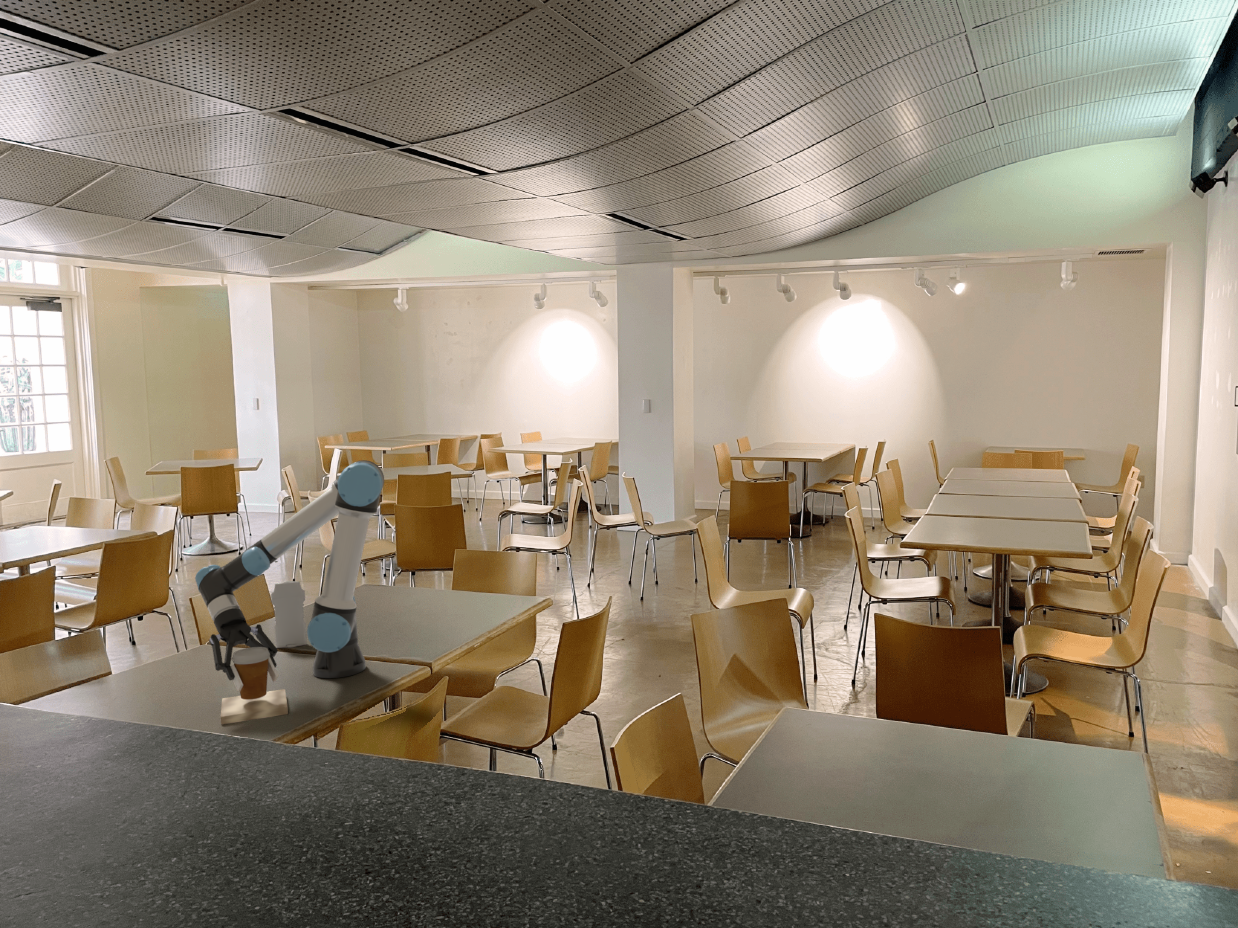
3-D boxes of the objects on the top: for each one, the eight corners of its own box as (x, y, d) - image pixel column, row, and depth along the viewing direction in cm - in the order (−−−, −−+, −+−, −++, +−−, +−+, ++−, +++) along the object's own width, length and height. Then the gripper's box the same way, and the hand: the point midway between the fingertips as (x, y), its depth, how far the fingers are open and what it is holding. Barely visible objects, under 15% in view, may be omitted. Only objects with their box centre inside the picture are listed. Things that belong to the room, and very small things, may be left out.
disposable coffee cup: (247, 704, 236) (243, 658, 235) (227, 697, 242) (224, 653, 241) (280, 693, 244) (277, 649, 243) (260, 687, 250) (257, 644, 249)
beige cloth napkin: (285, 695, 254) (285, 688, 254) (287, 713, 239) (287, 706, 239) (222, 705, 248) (222, 698, 248) (221, 724, 233) (220, 716, 233)
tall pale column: (274, 649, 302) (269, 583, 301) (274, 646, 306) (270, 581, 305) (308, 645, 306) (303, 580, 304) (308, 642, 310) (304, 578, 308)
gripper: (261, 615, 260) (292, 680, 250) (183, 632, 244) (213, 702, 235) (269, 599, 256) (301, 665, 246) (189, 615, 240) (221, 686, 231)
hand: (258, 683), depth 241 cm, fingers closed on disposable coffee cup, 9 cm apart
